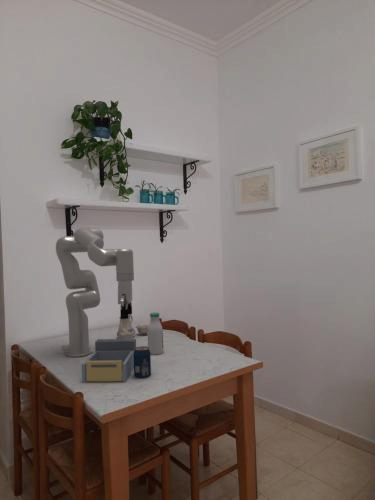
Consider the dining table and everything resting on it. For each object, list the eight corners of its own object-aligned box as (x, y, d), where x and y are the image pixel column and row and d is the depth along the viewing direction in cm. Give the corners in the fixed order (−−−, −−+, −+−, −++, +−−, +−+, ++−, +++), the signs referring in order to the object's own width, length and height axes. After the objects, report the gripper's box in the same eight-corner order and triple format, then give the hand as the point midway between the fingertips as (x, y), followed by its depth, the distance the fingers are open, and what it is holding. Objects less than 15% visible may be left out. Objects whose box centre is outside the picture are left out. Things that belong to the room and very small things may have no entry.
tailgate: (86, 383, 140) (86, 361, 140) (87, 382, 141) (87, 360, 141) (121, 383, 139) (121, 361, 139) (122, 382, 141) (122, 360, 141)
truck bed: (82, 384, 140) (81, 354, 140) (98, 365, 162) (98, 339, 162) (126, 384, 139) (125, 353, 139) (136, 364, 162) (135, 338, 161)
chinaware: (131, 348, 193) (133, 318, 192) (104, 343, 198) (106, 314, 197) (152, 335, 220) (154, 308, 219) (128, 331, 225) (129, 305, 224)
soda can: (141, 373, 151) (140, 345, 151) (154, 375, 147) (153, 347, 147) (130, 378, 145) (129, 349, 145) (144, 381, 141) (143, 351, 141)
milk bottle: (161, 355, 175) (159, 314, 174) (146, 354, 176) (144, 314, 176) (165, 350, 182) (164, 311, 182) (150, 350, 184) (149, 311, 183)
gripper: (120, 275, 164) (121, 313, 164) (112, 279, 147) (113, 320, 147) (136, 275, 164) (138, 312, 164) (130, 278, 147) (132, 320, 147)
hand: (126, 316), depth 155 cm, fingers open, 9 cm apart
